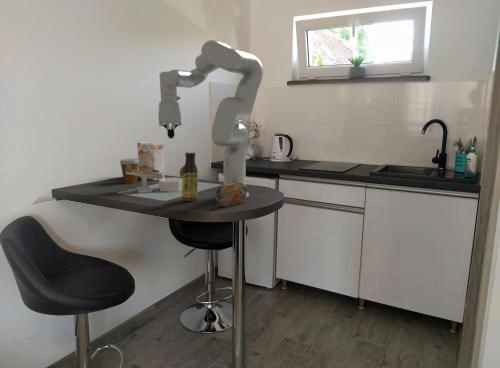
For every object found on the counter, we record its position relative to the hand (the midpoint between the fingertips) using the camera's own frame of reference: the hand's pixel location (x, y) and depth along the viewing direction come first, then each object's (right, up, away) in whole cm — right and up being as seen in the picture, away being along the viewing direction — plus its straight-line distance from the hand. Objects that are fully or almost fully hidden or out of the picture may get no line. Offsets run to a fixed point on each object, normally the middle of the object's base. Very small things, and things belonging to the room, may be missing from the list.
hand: (171, 138), depth 177 cm
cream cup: (+1, -24, -1) cm, 24 cm away
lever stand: (-11, -25, -6) cm, 28 cm away
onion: (+6, -21, +17) cm, 28 cm away
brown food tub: (-24, -21, +15) cm, 35 cm away
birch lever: (-12, -18, -4) cm, 22 cm away
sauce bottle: (+13, -29, -24) cm, 40 cm away
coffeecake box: (-17, -19, +30) cm, 39 cm away
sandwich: (+30, -30, -30) cm, 53 cm away
